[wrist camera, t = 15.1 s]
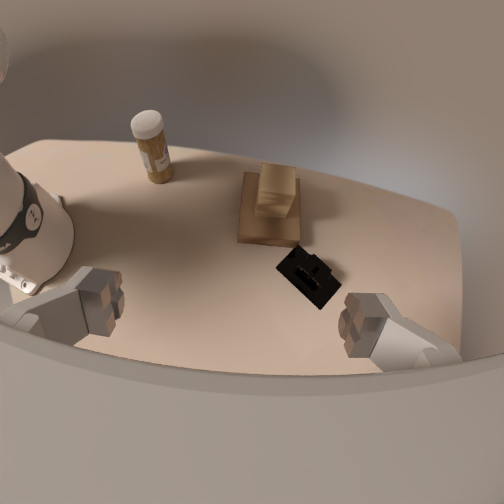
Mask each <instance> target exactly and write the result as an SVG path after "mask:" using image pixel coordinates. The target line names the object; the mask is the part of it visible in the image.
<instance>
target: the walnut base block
mask: <svg viewBox="0 0 504 504" xmlns="http://www.w3.org/2000/svg"><path fill="white" fill-rule="evenodd" d="M259 177H260V174H258V173H248V172H244V179H243V188H242V199H241V209H240V219H239V230H238V241H237V242H239V243H249V244H259V245H269V246H279V247H289V248H296V246H297V245H298V243H299V242H300V180H299V179H297V178H295V194H296V195H295V197H294V200H293V202H292V204H291V206H290V209H289V211H288V213H287V215H286V218H285V219H280V218H271V217H261V216H255V208H256V194H257V187H258V182H259Z"/></svg>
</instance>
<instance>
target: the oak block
mask: <svg viewBox="0 0 504 504" xmlns="http://www.w3.org/2000/svg"><path fill="white" fill-rule="evenodd" d="M295 195H296V194H295V167H289V166H281V165H274V164H265V163H262V168H261V172H260V177H259V182H258V187H257V194H256V208H255V216H261V217H271V218H280V219H285V218H286V215H287V213H288V211H289V209H290V206H291V204H292V202H293V200H294V197H295Z"/></svg>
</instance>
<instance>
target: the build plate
mask: <svg viewBox="0 0 504 504" xmlns="http://www.w3.org/2000/svg"><path fill="white" fill-rule="evenodd" d="M276 269H277V270H278V271H279V272H280V273H281V274H282V275H283V276H284V277H286V278H287V279H288V280H289V281H290V282H291V283H292V284H293V285H294V286H295V287H296V288H297V289H298V290H299V291H300V292H301V293H302V294H303V295H305V296H306V297H307V298H308V299H309V300H310V301H311V302H312V303H313V304H314V305H315V306H316V307H317V308H318V309H319V310H321V309H322V308H323V307H324V306H325V304H326V303H327V302H328V301H329V300H330V299H331V297H332V296H333V295H334V294H335V293H336V291H337V290H338V289H339V288H340V287H341V285H342V284H341V283H340V282H339V281H338V280H337V279H335V278H334V277H333V276H332V275H331V271H332V270H331V269H330V268H329V267H328V266H327V265H326V264H325V263H324V262H323V261H322V260H320V259H319V258H318V257H317V256H316V255H315V254H313V255H311V254H308V253H307V252H306V251H305V250H304V249H303V248H302V247H301V246H300V245H297V246H296V248H294V249H293V250H292V251H291V252H290V253H289V254H288V255H287V256H286V257H285V258H284V259H283V260H282V261H281V262H280V263H279V264H278V265H277V267H276Z"/></svg>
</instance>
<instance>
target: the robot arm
mask: <svg viewBox="0 0 504 504" xmlns="http://www.w3.org/2000/svg"><path fill="white" fill-rule="evenodd" d="M8 61H9V48H8V42H7V39H6V37H5V34H4V33H3V31H2V30H1V29H0V83H1V82H2V81H3V79H4V78H5V75H6V71H7V68H8ZM73 239H74V228H73V223H72V220H71V218H70V216H69V215H68V213H67V212H66V211H65V210H64V209H63V207H62V201H61V198H60V197H59V196H58V195H57V194H52V195H50V194H49V193H48V192H46V191H45V190H44V189H43V188H42V187H41V186H40V185H39V184H37V183H32V184H31V183H30V181H29V180H28V179H27V178H26V177H25V176H23V175H22V174H21V173H19V172H16V171H15V169H14V168H13V167H12V166H11V165H10V163H9V162H8V161H7V160H6V159H5V157H4V156H3V155H2V154H1V152H0V278H1V279H2V280H4V281H6V282H7V283H9V284H11V285H12V286H14V287H16V288H17V289H19V290H21V291H22V292H24V293H26V294H28V295H30V296H31V295H33V294H34V293H35V292H36V291H37V290H38V289H39V287H40V286H41V284H43V283H44V282H45V281H47V280H49V279H50V278H52V277H53V276H54V275H56V274H57V273H58V272H59V271H60V269H61V268H62V267H63V265H64V264H65V262H66V261H67V259H68V257H69V254H70V252H71V249H72V245H73ZM121 284H122V276H121V273H120V272H119V271H115V270H108V269H102V268H95V267H89V266H82V267H81V268H80V269H79V270H78V271H77V272H76V273H75V274H74V275H73V276H72V277H71V278H70V279H69V281H68V282H67V283H66V284H65V285H64V286H63V287H61V286H59V287H56V288H54V289H51V290H48V291H46V292H43V293H41V294H38V295H36V296H33V297H31V298H28V299H26V300H23V301H21V302H18V303H16V304H13V305H11V306H9V307H8V308H7V309H6V310H5V312H4V313H3V314H2V315H1V316H0V504H504V353H502V354H498V355H493V356H489V357H484V358H480V359H476V360H470V361H465V362H464V360H463V359H462V358H461V356H460V355H459V353H458V352H457V350H456V349H455V348H454V346H453V345H452V344H450V343H448V342H447V341H445V340H443V339H442V338H440V337H438V336H436V335H435V334H433V333H431V332H430V331H428V330H426V329H425V328H423V327H421V326H420V325H418V324H416V323H415V322H413V321H411V320H409V319H408V318H403V317H402V315H401V314H400V313H399V311H398V310H397V308H396V307H395V305H394V304H393V303H392V301H391V300H390V298H389V297H388V296H387V295H386V294H384V293H348V295H347V296H346V299H345V302H344V303H345V306H346V309H344V310H343V311H342V312H341V314H340V317H339V323H338V330H339V334H340V337H341V338H342V339H344V340H345V343H344V347H345V350H346V352H347V355H348V357H349V358H369V359H370V360H371V361H372V362H373V363H374V364H376V365H377V366H378V367H379V368H380V369H381V370H382V371H383V372H382V373H369V374H352V375H317V376H298V375H263V374H245V373H231V372H219V371H209V370H200V369H191V368H183V367H176V366H169V365H162V364H156V363H150V362H144V361H138V360H133V359H128V358H122V357H118V356H113V355H108V354H103V353H99V352H95V351H90V350H86V349H82V348H78V347H74V346H73V345H74V344H76V343H77V342H79V341H80V340H82V339H83V338H84V337H86V336H87V335H89V334H94V335H100V336H106V337H110V335H111V333H112V332H113V330H114V328H115V326H116V323H115V320H117V319H118V318H120V317H121V315H122V313H123V309H124V293H123V291H122V290H121V289H120V285H121ZM25 285H26V287H25ZM88 333H89V334H88Z"/></svg>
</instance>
